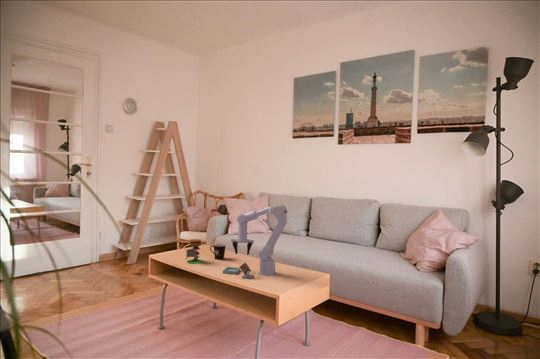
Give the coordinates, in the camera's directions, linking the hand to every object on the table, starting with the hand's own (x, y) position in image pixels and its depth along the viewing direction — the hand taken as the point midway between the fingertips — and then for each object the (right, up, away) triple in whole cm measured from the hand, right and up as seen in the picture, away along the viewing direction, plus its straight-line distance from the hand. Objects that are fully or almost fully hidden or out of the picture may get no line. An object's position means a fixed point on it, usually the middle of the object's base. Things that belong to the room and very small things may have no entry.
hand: (242, 254), depth 229 cm
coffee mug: (-20, -9, +29) cm, 36 cm away
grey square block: (+5, -11, -15) cm, 19 cm away
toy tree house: (-34, -9, +18) cm, 39 cm away
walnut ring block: (+4, -8, -15) cm, 18 cm away
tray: (-6, -10, -5) cm, 13 cm away
